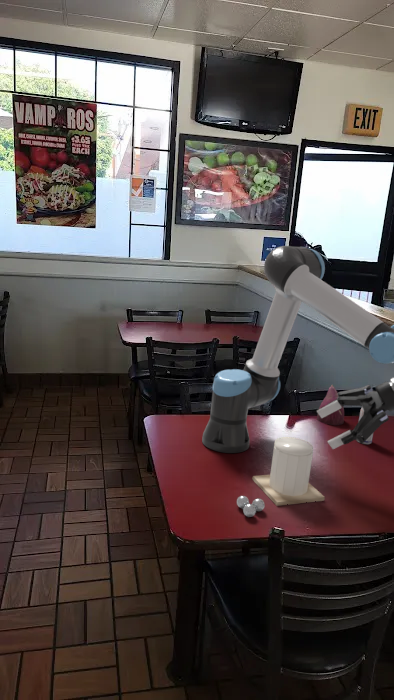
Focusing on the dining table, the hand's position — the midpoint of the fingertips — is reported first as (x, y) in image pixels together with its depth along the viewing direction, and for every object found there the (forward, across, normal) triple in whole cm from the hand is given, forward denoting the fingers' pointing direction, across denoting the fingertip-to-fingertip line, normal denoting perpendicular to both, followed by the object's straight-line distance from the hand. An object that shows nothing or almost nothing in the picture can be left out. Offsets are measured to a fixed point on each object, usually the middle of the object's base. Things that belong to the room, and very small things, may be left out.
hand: (324, 429), depth 138 cm
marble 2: (+22, -25, +8) cm, 35 cm away
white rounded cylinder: (+15, -11, -2) cm, 19 cm away
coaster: (+16, -11, -3) cm, 19 cm away
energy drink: (-4, +26, -34) cm, 43 cm away
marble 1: (+24, -22, +8) cm, 33 cm away
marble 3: (+21, -22, +6) cm, 31 cm away
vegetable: (+4, +44, -34) cm, 56 cm away
